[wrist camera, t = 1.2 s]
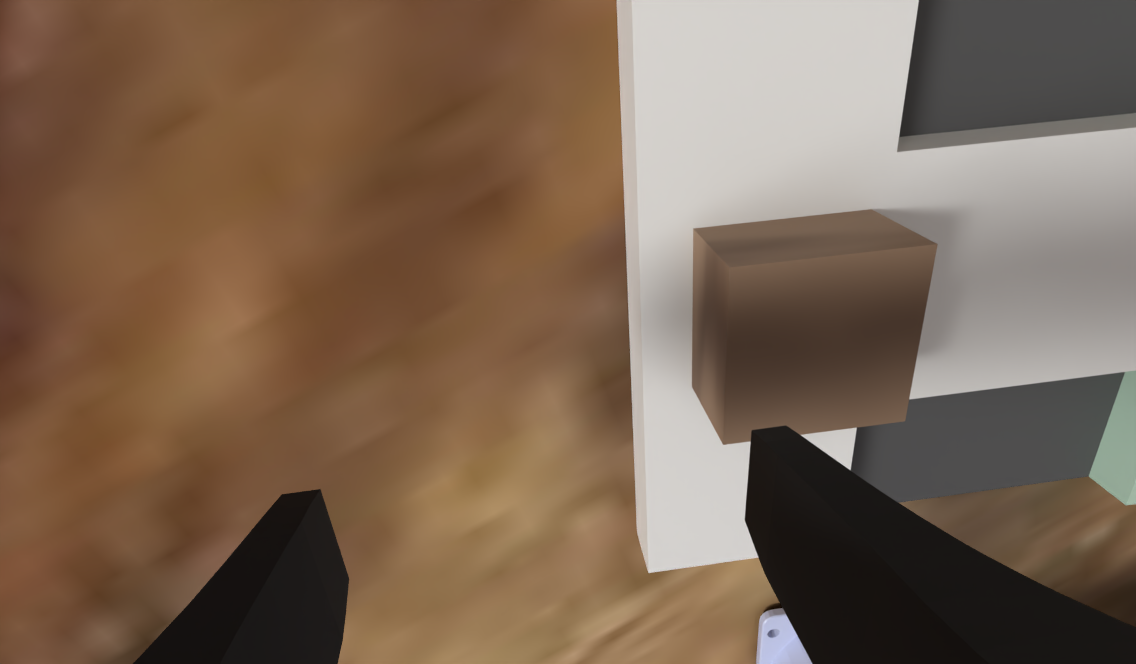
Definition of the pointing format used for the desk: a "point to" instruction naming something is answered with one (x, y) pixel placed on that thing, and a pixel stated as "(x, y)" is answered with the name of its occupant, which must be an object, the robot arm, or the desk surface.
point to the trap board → (909, 197)
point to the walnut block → (807, 322)
